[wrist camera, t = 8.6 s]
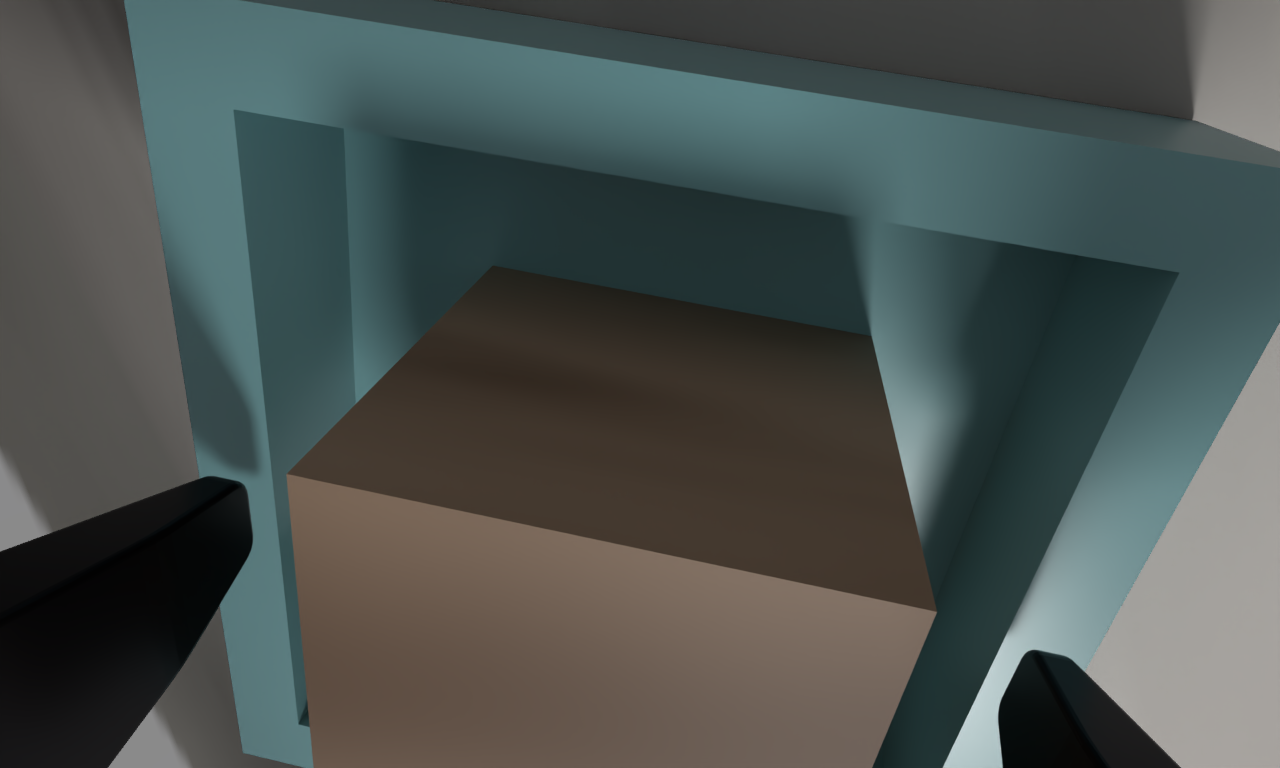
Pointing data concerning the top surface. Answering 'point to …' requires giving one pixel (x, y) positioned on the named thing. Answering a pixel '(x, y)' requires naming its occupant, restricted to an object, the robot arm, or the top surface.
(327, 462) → the walnut block
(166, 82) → the tray
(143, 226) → the top surface
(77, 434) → the top surface
